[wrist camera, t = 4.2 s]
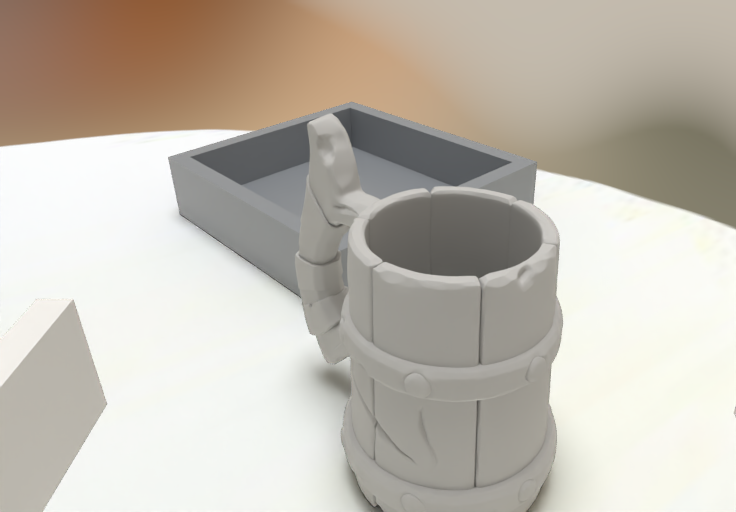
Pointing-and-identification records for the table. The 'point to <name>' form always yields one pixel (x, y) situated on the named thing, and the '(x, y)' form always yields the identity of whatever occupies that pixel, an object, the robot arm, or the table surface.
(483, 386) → the mug
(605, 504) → the table surface
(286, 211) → the box
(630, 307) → the table surface
